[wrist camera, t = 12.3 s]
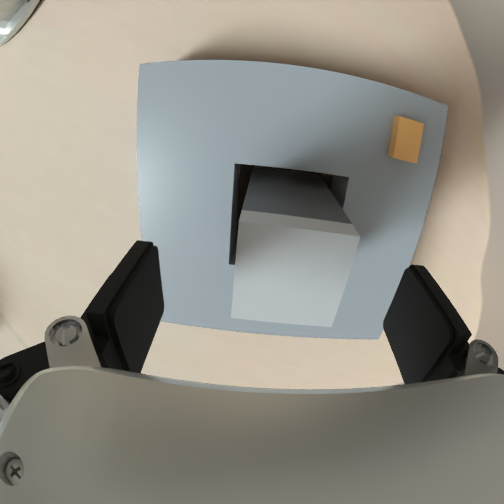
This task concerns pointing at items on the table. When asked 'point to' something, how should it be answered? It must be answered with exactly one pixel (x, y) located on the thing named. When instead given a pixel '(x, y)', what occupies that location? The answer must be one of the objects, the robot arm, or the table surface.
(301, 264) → the plug
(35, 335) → the table surface
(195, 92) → the socket
